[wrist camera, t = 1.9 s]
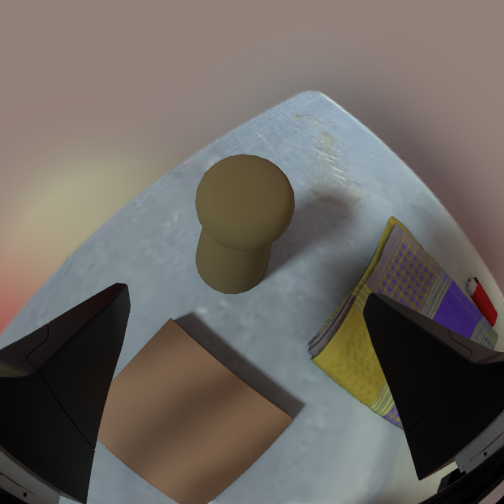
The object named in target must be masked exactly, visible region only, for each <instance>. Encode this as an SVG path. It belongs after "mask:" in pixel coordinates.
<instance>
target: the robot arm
mask: <svg viewBox="0 0 504 504" xmlns="http://www.w3.org/2000/svg"><path fill="white" fill-rule="evenodd" d="M130 307H131V304H130V297H129V291H128V286H127V284H124V283H115V284H113V285H111V286H110V287H108V288H106V289H104V290H103V291H101V292H99V293H97V294H96V295H94V296H92V297H91V298H89V299H87V300H85V301H84V302H82V303H80V304H79V305H77V306H75V307H73V308H72V309H70V310H68V311H67V312H65V313H63V314H62V315H60V316H58V317H57V318H55V319H54V320H52V321H50V322H49V323H48V324H45V325H44V326H42V327H41V328H39V329H37V330H35V331H34V332H32V333H30V334H29V335H27V336H25V337H23V338H21V339H19V340H18V341H16V342H14V343H12V344H10V345H8V346H6V347H4V348H2V349H1V350H0V504H59V499H60V495H61V496H63V497H66V498H68V499H71V500H74V501H76V502H79V503H82V504H86V503H87V496H88V489H89V482H90V475H91V469H92V463H93V458H94V453H95V450H94V449H95V447H96V442H97V437H98V433H99V428H100V424H101V420H102V416H103V411H104V408H105V404H106V400H107V396H108V392H109V389H110V385H111V382H112V378H113V375H114V371H115V368H116V365H117V361H118V358H119V355H120V352H121V349H122V345H123V341H124V336H125V332H126V327H127V322H128V317H129V313H130ZM363 317H364V320H365V323H366V326H367V329H368V333H369V336H370V339H371V343H372V346H373V348H374V351H375V353H376V356H377V358H378V361H379V363H380V366H381V368H382V371H383V373H384V376H385V379H386V381H387V384H388V387H389V389H390V392H391V395H392V397H393V400H394V403H395V406H396V409H397V412H398V414H399V417H400V420H401V423H402V426H403V429H404V432H405V435H406V439H407V442H408V446H409V449H410V452H411V456H412V459H413V463H414V466H415V470H416V473H417V477H418V479H419V481H420V480H422V479H424V478H426V477H428V476H430V475H432V474H433V473H435V472H437V471H439V470H441V469H442V468H444V467H446V466H447V465H449V464H451V463H452V462H454V461H455V462H456V464H457V466H458V468H457V469H455V470H454V471H452V472H451V473H449V474H448V475H446V476H445V477H443V478H442V479H441V482H440V485H439V488H438V491H437V493H436V494H435V495H433V496H431V497H430V498H428V499H426V500H424V501H422V502H420V503H419V504H504V352H497V351H494V350H492V349H490V348H487V347H485V346H483V345H481V344H479V343H477V342H475V341H473V340H471V339H468V338H466V337H464V336H462V335H460V334H459V333H457V332H455V331H453V330H451V329H449V328H446V327H445V326H443V325H441V324H440V323H438V322H436V321H434V320H432V319H430V318H428V317H426V316H424V315H422V314H421V313H419V312H417V311H415V310H413V309H411V308H409V307H407V306H405V305H403V304H401V303H399V302H397V301H395V300H394V299H392V298H390V297H388V296H386V295H384V294H382V293H380V292H372V293H370V294H369V295H368V298H367V301H366V303H365V306H364V309H363Z"/></svg>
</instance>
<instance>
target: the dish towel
mask: <svg viewBox="0 0 504 504" xmlns="http://www.w3.org/2000/svg"><path fill="white" fill-rule="evenodd" d="M372 292H380V293H382V294H384V295H386V296H388V297H390V298H392V299H394V300H395V301H397V302H399V303H401V304H403V305H405V306H407V307H409V308H411V309H413V310H415V311H417V312H419V313H421V314H422V315H424V316H426V317H428V318H430V319H432V320H434V321H436V322H438V323H440V324H441V325H443V326H445V327H446V328H449V329H451V330H453V331H455V332H457V333H459V334H460V335H462V336H464V337H466V338H468V339H471V340H473V341H475V342H477V343H479V344H481V345H483V346H485V347H487V348H490V349H492V350H493V349H494V347H495V344H496V342H497V340H498V335H497V334H496V333H495V331H494V330H493V329H492V327H491V325H490V324H489V323H488V321H487V320H486V318H485V317H484V316H483V315H482V314H481V313H480V311H479V310H478V309H477V308H476V307H475V305H474V304H473V303H472V302H471V301H470V300H469V299H468V298H467V297H466V296H465V295H464V294H463V292H462V291H461V290H460V288H459V287H458V286H457V285H456V283H455V282H454V281H453V280H452V279H451V278H450V277H449V276H448V275H447V274H446V273H445V272H444V270H443V269H442V268H441V267H440V266H439V265H438V264H437V263H436V262H435V260H434V259H433V258H432V257H431V256H429V255H428V254H427V253H426V252H425V251H424V249H423V248H422V247H421V245H420V244H418V243H417V242H416V241H415V240H414V238H413V237H412V236H411V234H410V233H409V231H408V230H407V229H406V228H405V227H404V226H403V225H402V224H401V223H400V222H399V221H398V220H397V219H395V218H394V217H392V216H391V217H390V218H389V220H388V222H387V224H386V228H385V230H384V232H383V234H382V236H381V239H380V241H379V245H378V247H377V249H376V251H375V253H374V255H373V258H372V260H371V262H370V264H369V266H368V268H367V270H366V271H365V273H364V274H363V276H362V277H361V278H360V279H359V281H358V282H357V283H356V285H355V287H354V288H353V289H352V291H351V292H350V293H349V294H348V296H347V297H346V298H345V299H344V301H343V302H342V303H341V305H340V306H339V307H338V308H337V310H336V311H335V312H334V313H333V314H332V315H331V317H330V318H329V319H328V321H327V322H326V323H325V324H324V325H323V327H322V328H321V329H320V331H319V332H318V333H317V334H316V336H314V337H313V338H312V340H311V341H310V342H309V343H308V346H309V347H310V348H309V350H308V352H309V353H310V354H311V355H312V356H313V357H312V358H311V359H310V360H311V361H312V362H313V363H315V364H316V365H317V366H318V367H319V368H320V369H321V370H322V371H324V372H325V373H326V374H327V375H328V376H329V377H330V378H331V379H332V380H333V381H334V382H336V383H337V384H339V385H340V386H341V387H342V388H344V389H345V390H346V391H347V392H349V393H350V394H351V395H353V396H354V397H355V398H356V399H358V400H359V401H360V402H361V403H363V404H365V405H366V406H368V407H369V408H370V409H371V410H372V411H373V412H375V413H376V414H378V415H380V416H381V417H383V418H384V419H385V420H387V421H389V422H390V423H392V424H394V425H395V426H397V427H399V428H400V429H402V430H404V429H403V426H402V423H401V420H400V417H399V414H398V412H397V409H396V406H395V403H394V400H393V397H392V395H391V392H390V389H389V387H388V384H387V381H386V379H385V376H384V373H383V371H382V368H381V366H380V363H379V361H378V358H377V356H376V353H375V351H374V348H373V346H372V343H371V339H370V336H369V333H368V329H367V326H366V323H365V320H364V317H363V309H364V306H365V303H366V301H367V298H368V295H369V294H370V293H372Z"/></svg>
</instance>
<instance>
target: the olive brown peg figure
mask: <svg viewBox="0 0 504 504" xmlns="http://www.w3.org/2000/svg"><path fill="white" fill-rule="evenodd" d="M195 204H196V210H197V214H198V218H199V222H200V223H201V225H202V226H203V227H202V231H201V235H200V239H199V243H198V247H197V251H196V265H197V269H198V273H199V274H200V276H201V277H202V279H203V280H204V282H205V283H206V284H208V285H209V286H210V287H211V288H213V289H214V290H217V291H220V292H222V293H225V294H239V293H242V292H246V291H248V290H250V289H251V288H253V287H254V286H256V285H257V284H258V283H259V282H260V280H261V279H262V278H263V276H264V274H265V271H266V268H267V264H268V259H269V255H270V250H271V245H272V242H274V241H275V240H277V239H278V238H280V236H281V235H282V234H283V232H284V231H285V230H286V228H287V227H288V226H289V224H290V222H291V219H292V216H293V212H294V207H295V201H294V191H293V189H292V186H291V184H290V182H289V180H288V178H287V176H286V175H285V174H284V173H283V172H282V171H281V169H280V168H279V167H278V166H276V165H275V164H273V163H272V162H270V161H269V160H267V159H264V158H261V157H258V156H255V155H244V154H241V155H235V156H230V157H227V158H225V159H223V160H221V161H219V162H217V163H215V164H214V165H213V166H212V167H211V168H210V169H209V170H208V171H206V172H205V174H204V176H203V178H202V180H201V181H200V183H199V186H198V188H197V193H196V202H195Z"/></svg>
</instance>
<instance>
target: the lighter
mask: <svg viewBox="0 0 504 504" xmlns="http://www.w3.org/2000/svg"><path fill="white" fill-rule="evenodd" d="M466 290H467V292H469V295H470V296H471V298H472V299H473V301H474V302H475V304H476V306H477V307H478V309H479V311H480V312H481V314H482V315H483V316H484V317H485V318H486V320H487V321H488V323H489V324H490V325H491V327H493V326H494V324H495V322H496V318H497V315H498V314H497V312H496V310H495V308H494V306H493V304H492V303H491V301H490V299H489V297H488V296H487V294H486V292H485V291H484V289H483V287H482V286H481V284H480V283H479V281H478V280H477V278H476V277H475V278H471V279H469V280H468V283H467V287H466Z"/></svg>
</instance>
